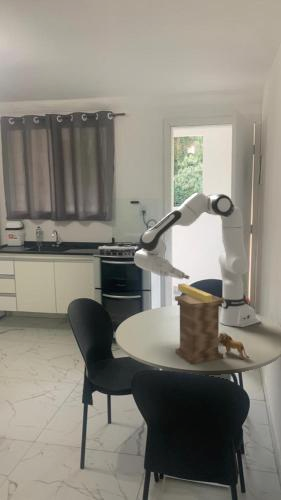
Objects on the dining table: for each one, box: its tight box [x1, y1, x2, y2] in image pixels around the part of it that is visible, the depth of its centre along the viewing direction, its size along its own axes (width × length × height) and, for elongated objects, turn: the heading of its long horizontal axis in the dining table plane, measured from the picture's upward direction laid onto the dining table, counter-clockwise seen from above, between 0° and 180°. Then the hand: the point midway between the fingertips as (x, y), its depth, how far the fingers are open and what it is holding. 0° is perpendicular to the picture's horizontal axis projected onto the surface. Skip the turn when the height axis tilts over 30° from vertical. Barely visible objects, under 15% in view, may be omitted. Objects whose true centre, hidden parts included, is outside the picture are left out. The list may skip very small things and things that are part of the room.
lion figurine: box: [218, 332, 250, 360], centre depth 173 cm, size 15×5×9 cm, turn 50°
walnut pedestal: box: [174, 292, 224, 365], centre depth 172 cm, size 16×14×26 cm
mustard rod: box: [177, 283, 213, 303], centre depth 174 cm, size 3×24×3 cm, turn 23°
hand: (185, 276), depth 192 cm, fingers open, 8 cm apart
